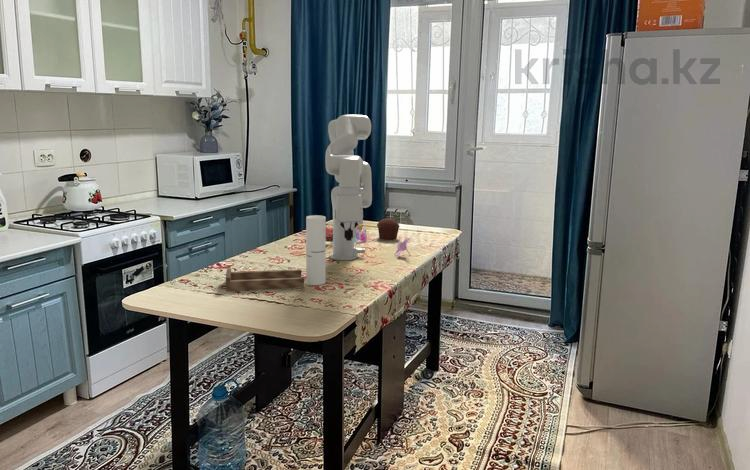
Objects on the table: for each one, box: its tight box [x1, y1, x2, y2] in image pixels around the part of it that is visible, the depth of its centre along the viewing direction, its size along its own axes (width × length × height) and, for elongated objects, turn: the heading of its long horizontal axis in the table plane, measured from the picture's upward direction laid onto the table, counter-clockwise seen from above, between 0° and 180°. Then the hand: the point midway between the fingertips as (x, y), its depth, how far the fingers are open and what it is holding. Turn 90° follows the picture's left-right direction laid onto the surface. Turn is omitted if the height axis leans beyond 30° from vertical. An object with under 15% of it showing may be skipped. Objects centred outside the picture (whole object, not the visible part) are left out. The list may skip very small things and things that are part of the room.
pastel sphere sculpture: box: [326, 224, 368, 247], centre depth 278 cm, size 25×24×9 cm
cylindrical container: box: [305, 214, 327, 286], centre depth 209 cm, size 7×7×25 cm
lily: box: [394, 236, 412, 259], centre depth 252 cm, size 11×11×9 cm
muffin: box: [376, 217, 400, 241], centre depth 284 cm, size 12×11×10 cm
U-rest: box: [225, 267, 305, 292], centre depth 208 cm, size 28×12×5 cm, turn 102°
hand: (348, 239), depth 211 cm, fingers closed
